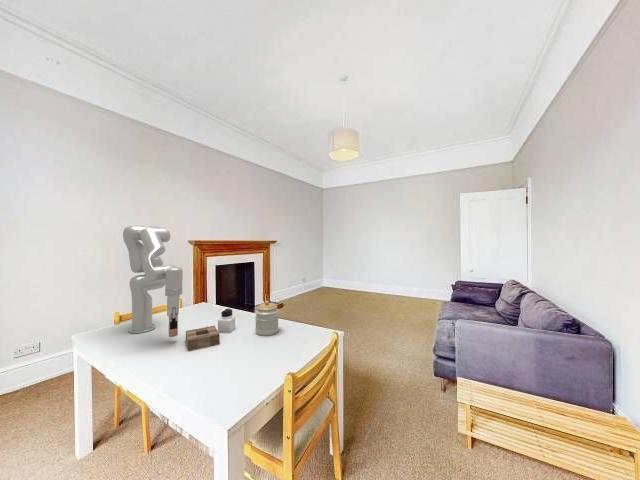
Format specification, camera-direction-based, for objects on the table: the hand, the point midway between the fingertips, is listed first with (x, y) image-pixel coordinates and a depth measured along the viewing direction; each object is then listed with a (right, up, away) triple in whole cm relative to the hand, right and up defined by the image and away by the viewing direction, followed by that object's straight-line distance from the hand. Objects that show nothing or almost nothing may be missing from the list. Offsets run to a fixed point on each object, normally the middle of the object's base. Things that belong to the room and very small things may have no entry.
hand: (173, 326), depth 126 cm
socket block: (+15, -8, 0) cm, 17 cm away
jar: (+45, -8, +14) cm, 48 cm away
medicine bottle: (+21, -8, +16) cm, 28 cm away
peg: (0, -4, 0) cm, 4 cm away
